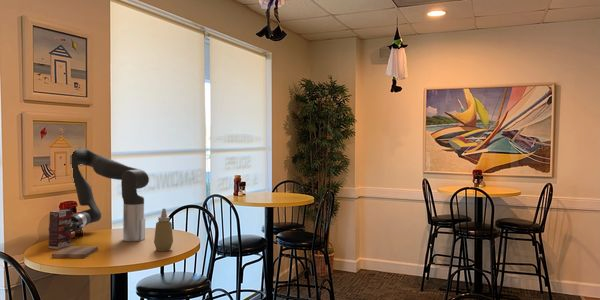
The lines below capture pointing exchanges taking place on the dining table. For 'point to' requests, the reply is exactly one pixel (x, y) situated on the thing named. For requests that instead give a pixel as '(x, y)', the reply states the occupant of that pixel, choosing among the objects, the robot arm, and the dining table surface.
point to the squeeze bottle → (163, 233)
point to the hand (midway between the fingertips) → (57, 229)
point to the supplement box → (59, 228)
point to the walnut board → (75, 252)
